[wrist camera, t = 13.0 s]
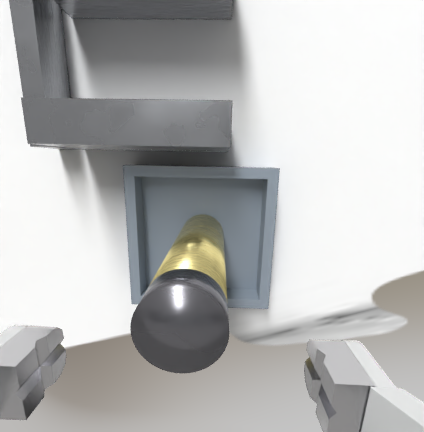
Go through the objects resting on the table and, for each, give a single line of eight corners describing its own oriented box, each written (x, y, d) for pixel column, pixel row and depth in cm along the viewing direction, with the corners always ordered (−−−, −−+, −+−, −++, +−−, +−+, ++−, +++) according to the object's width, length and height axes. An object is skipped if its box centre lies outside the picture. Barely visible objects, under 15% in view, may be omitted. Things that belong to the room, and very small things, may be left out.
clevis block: (232, -22, 17) (240, -121, 11) (227, 152, 19) (230, 147, 14) (37, -22, 17) (-57, -118, 11) (58, 148, 20) (-10, 142, 14)
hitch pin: (224, 214, 20) (230, 289, 8) (222, 254, 21) (227, 375, 9) (181, 213, 20) (127, 285, 8) (181, 253, 21) (133, 371, 9)
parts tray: (272, 167, 20) (279, 168, 17) (262, 292, 22) (268, 308, 20) (134, 164, 20) (123, 165, 17) (141, 288, 22) (131, 304, 20)
